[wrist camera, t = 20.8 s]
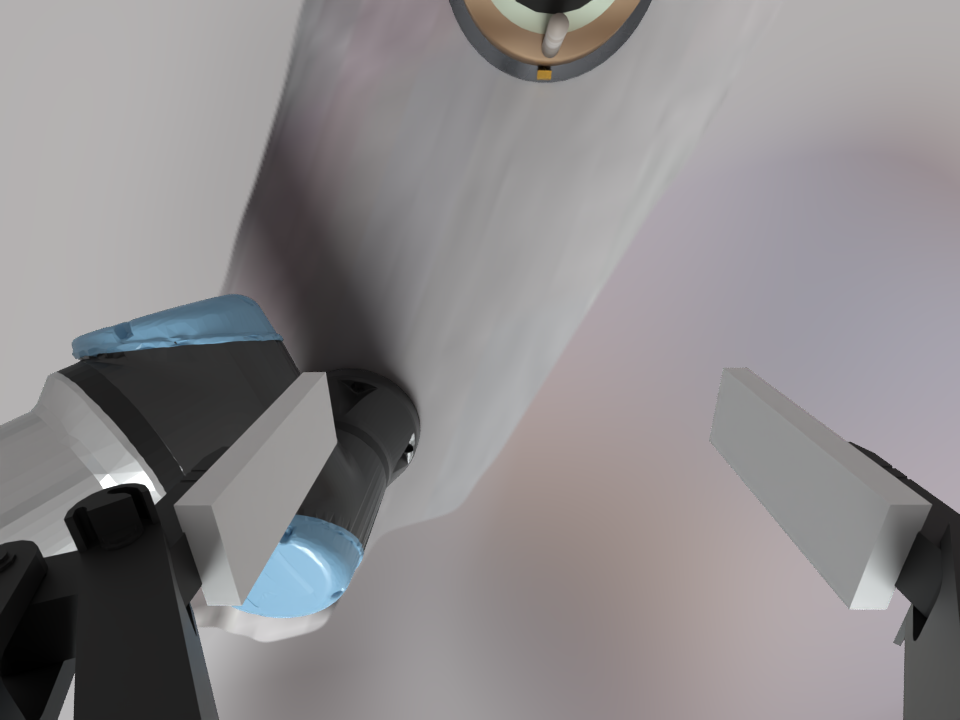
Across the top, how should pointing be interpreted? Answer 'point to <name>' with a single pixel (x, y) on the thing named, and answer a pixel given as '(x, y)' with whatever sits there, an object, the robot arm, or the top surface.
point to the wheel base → (545, 72)
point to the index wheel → (548, 29)
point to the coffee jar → (553, 5)
